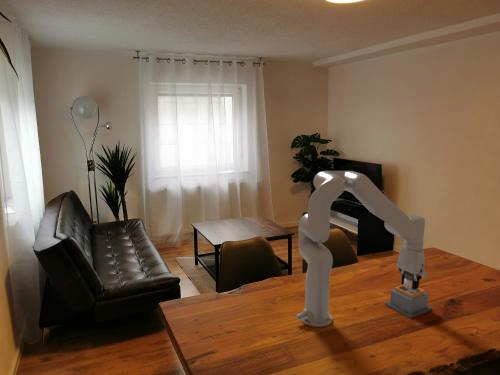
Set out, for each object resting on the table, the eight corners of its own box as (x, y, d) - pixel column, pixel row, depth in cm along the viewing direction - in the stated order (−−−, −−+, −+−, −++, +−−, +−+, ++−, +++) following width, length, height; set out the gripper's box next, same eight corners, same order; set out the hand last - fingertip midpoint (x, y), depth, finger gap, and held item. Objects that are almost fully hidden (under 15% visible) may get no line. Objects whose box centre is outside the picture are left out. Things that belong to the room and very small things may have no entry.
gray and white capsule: (410, 290, 163) (411, 277, 162) (401, 286, 167) (402, 272, 166) (418, 287, 165) (419, 274, 164) (408, 283, 169) (409, 270, 168)
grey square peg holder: (410, 318, 159) (412, 299, 157) (384, 305, 170) (386, 286, 168) (432, 309, 166) (433, 290, 164) (406, 297, 177) (407, 279, 175)
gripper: (390, 241, 168) (387, 280, 171) (425, 253, 154) (421, 296, 157) (402, 238, 172) (399, 277, 175) (437, 249, 157) (433, 291, 161)
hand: (409, 285), depth 166 cm, fingers closed on gray and white capsule, 4 cm apart
